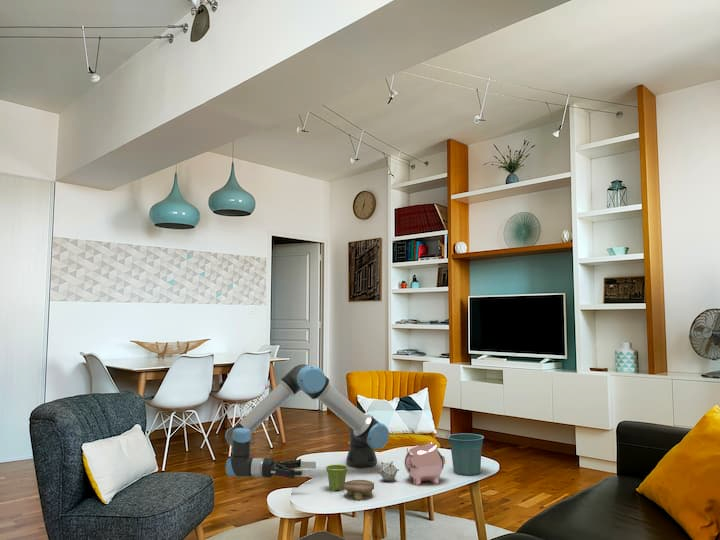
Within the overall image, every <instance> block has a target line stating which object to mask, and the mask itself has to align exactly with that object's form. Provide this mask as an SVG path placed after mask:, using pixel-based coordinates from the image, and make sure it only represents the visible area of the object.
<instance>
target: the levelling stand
mask: <svg viewBox="0 0 720 540" xmlns="http://www.w3.org/2000/svg"><path fill="white" fill-rule="evenodd" d="M374 489H375V483H374V482H373V481H371V480H366V479H351V480H348V481H345V483H344V489H343V490H344V491H346V495H347V494H348V495H347V496H353V499H354V500H355V501H360V500H361V501H362V500H363V495H364V494H365V495H364V496H367V495H369V496H372V495H373V490H374Z"/></svg>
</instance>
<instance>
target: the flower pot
mask: <svg viewBox="0 0 720 540" xmlns="http://www.w3.org/2000/svg"><path fill="white" fill-rule="evenodd" d="M447 439H448V440H449V446H450V450H451V451H450V452H451V459H452V460H451V461H452V468H453V473H454V474H456V473H457V475H465V476H476V475H479V474H480V473H481V469H482V468H481V466H482V465H481V463H482V447H483V441H484V439H485V437H484V435H482V434H476V433H467V432H466V433H451V434H449V435H448V436H447Z"/></svg>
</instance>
